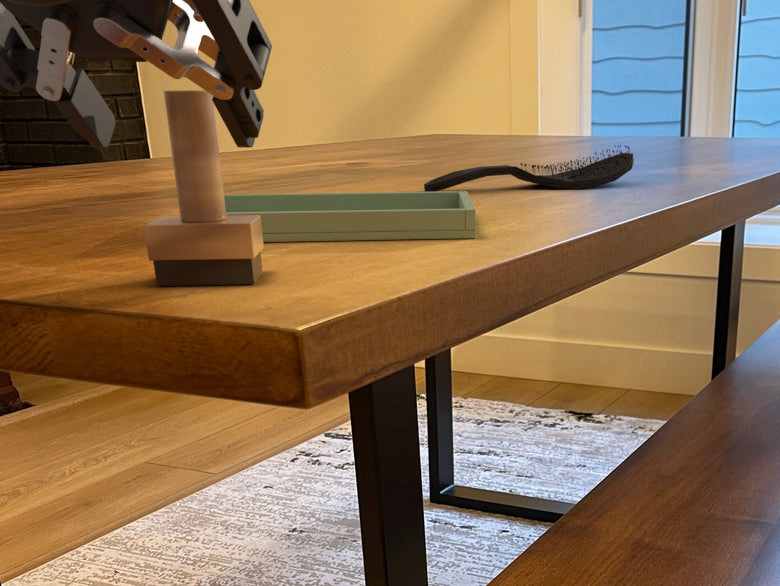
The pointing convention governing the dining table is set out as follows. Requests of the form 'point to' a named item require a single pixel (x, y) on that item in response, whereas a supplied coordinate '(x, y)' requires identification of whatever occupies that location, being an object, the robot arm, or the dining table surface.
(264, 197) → the tray
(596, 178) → the hairbrush
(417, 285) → the dining table surface
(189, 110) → the scrub brush
